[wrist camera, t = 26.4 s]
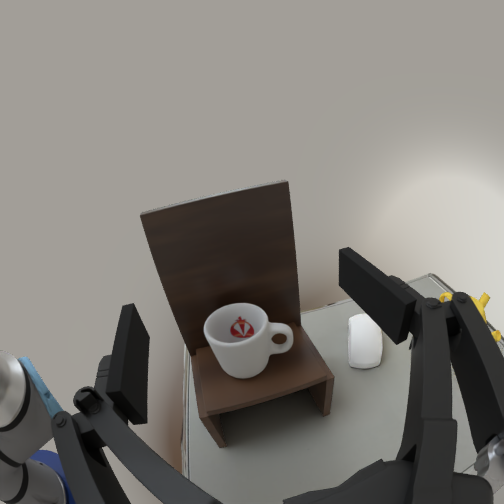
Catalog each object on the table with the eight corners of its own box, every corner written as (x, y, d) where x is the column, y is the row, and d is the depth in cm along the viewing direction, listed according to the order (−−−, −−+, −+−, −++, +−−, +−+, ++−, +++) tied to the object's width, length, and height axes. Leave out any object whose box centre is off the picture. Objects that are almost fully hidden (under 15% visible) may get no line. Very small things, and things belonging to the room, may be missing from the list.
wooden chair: (329, 414, 37) (339, 205, 22) (219, 448, 34) (119, 257, 19) (300, 361, 49) (284, 179, 34) (207, 388, 46) (140, 212, 31)
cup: (293, 340, 39) (289, 297, 35) (296, 382, 32) (293, 340, 28) (221, 345, 40) (209, 304, 36) (214, 386, 33) (197, 346, 29)
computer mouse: (375, 323, 54) (378, 301, 51) (381, 369, 43) (387, 347, 40) (346, 324, 56) (348, 302, 53) (347, 371, 44) (350, 348, 42)
